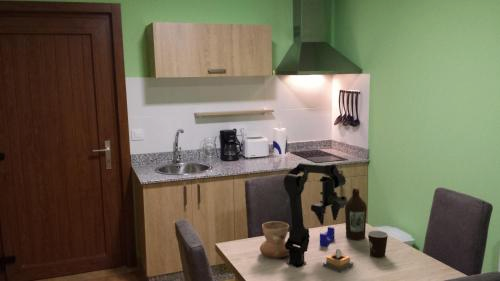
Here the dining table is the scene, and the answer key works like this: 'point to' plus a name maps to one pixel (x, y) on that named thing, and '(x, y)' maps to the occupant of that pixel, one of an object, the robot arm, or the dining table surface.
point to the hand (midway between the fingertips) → (328, 222)
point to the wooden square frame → (336, 262)
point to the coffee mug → (377, 243)
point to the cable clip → (327, 237)
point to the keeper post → (339, 269)
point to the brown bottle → (355, 216)
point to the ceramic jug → (274, 239)
